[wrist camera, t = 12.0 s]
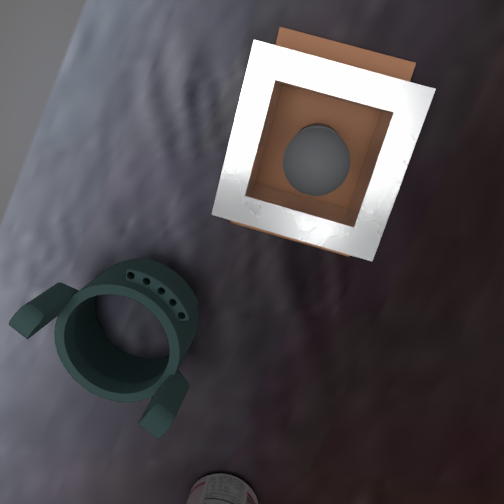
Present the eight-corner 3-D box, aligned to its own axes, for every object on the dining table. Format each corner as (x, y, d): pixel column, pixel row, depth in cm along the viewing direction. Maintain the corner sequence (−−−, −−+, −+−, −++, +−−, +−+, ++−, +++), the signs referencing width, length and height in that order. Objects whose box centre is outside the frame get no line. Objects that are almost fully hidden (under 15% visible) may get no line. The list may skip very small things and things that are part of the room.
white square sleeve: (264, 51, 27) (253, 39, 23) (415, 92, 27) (435, 88, 22) (228, 198, 30) (211, 214, 26) (363, 237, 30) (372, 261, 25)
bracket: (207, 366, 35) (172, 446, 27) (90, 359, 36) (22, 434, 28) (202, 251, 33) (163, 299, 24) (78, 247, 34) (-2, 292, 25)
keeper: (233, 219, 32) (194, 269, 22) (281, 29, 28) (261, -16, 18) (348, 252, 31) (362, 319, 21) (412, 64, 28) (466, 38, 18)
